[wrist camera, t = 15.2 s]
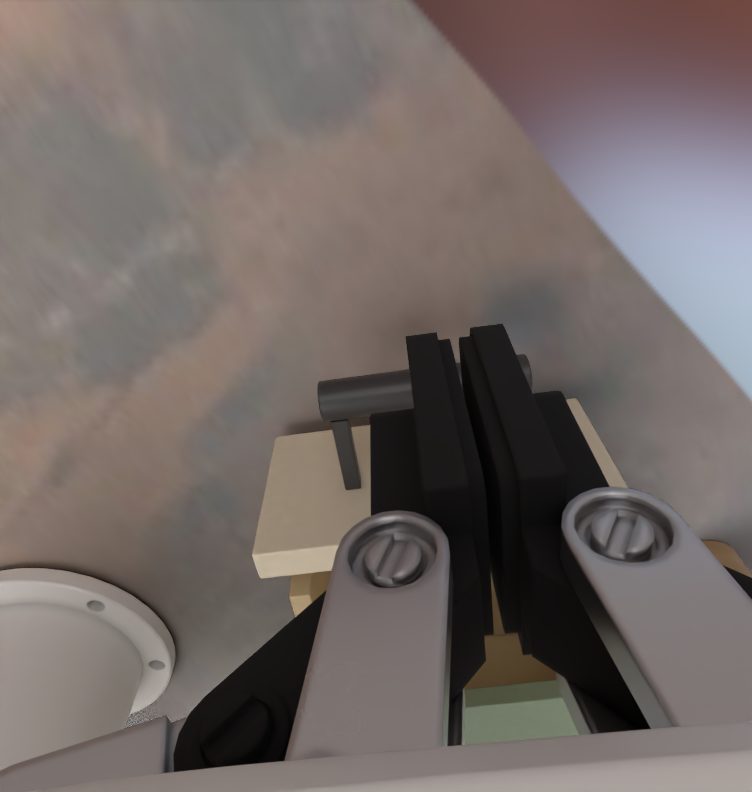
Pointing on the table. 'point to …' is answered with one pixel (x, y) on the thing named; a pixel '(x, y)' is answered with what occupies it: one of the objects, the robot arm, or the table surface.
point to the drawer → (364, 504)
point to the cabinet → (516, 713)
